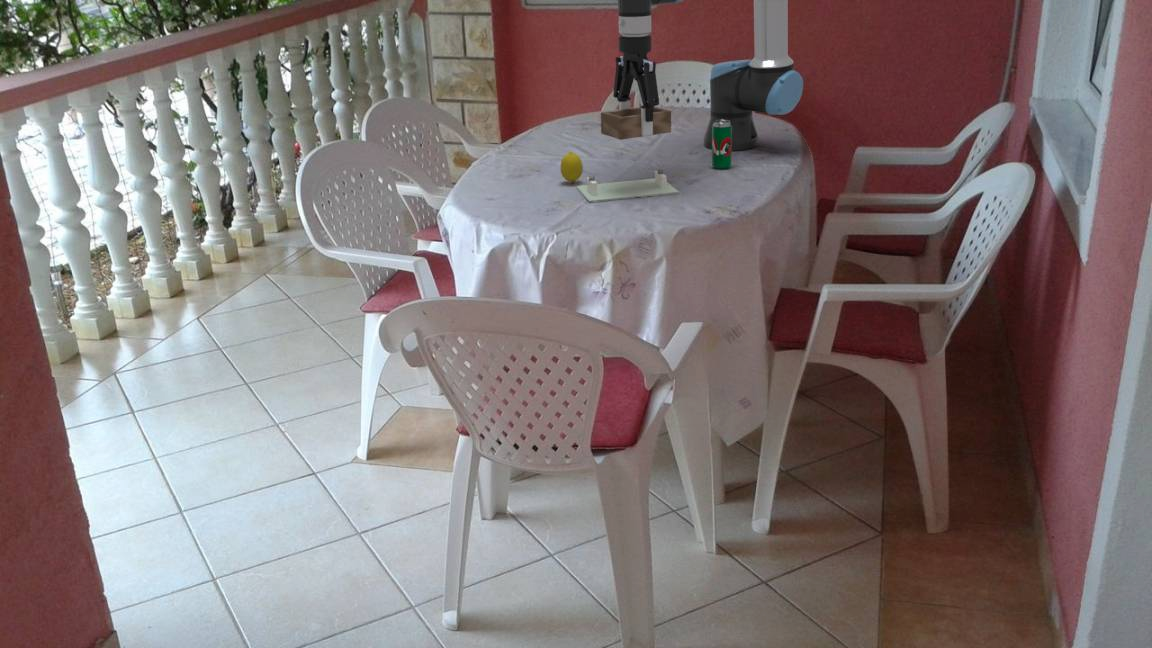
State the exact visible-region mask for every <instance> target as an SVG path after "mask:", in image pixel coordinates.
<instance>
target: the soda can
mask: <svg viewBox="0 0 1152 648" xmlns="http://www.w3.org/2000/svg"><path fill="white" fill-rule="evenodd" d="M732 153H733V150H732V124H731V121H729V120H716V121H714V124H713V125H712V149H711V167H713V169H716V170H728V169H730V168H731V167H732V161H733V160H732V156H733V154H732Z"/></svg>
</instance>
